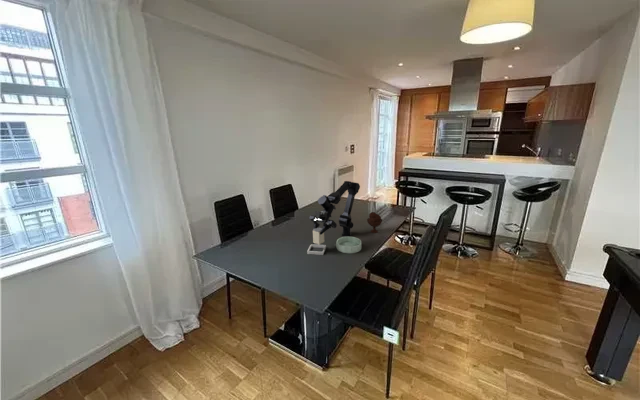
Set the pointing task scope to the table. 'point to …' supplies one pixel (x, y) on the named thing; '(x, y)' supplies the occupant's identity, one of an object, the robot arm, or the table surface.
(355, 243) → the serving bowl
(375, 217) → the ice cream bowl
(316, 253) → the square frame
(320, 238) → the cream grey rectangular block
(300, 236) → the table surface
